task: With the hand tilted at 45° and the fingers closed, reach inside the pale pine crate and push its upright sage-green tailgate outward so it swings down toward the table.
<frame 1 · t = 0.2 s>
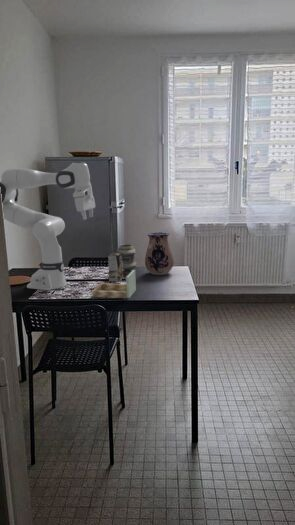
hand: (88, 218, 218), 39 cm above the table, tool pointing down, fingers open, 8 cm apart
truck bed crate: (113, 294, 213), on the table
apothecary jar: (127, 273, 254), on the table
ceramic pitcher: (159, 273, 253), on the table
tailgate: (131, 284, 209), point 6 cm above the table, hinge at 0.0°
coffee box: (116, 281, 239), on the table
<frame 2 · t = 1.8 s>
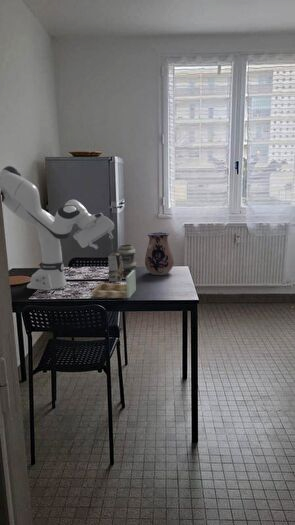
hand: (104, 243, 200), 29 cm above the table, tool tilted 50°, fingers open, 8 cm apart
nothing on the table moved.
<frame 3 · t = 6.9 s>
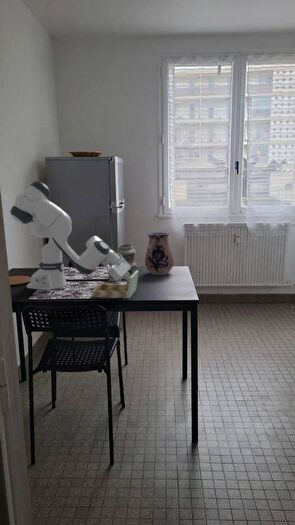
hand: (131, 280, 208), 8 cm above the table, tool tilted 45°, fingers closed, pressing on tailgate
tailgate: (132, 284, 209), point 6 cm above the table, hinge at 9.9°, touching gripper
everything else where it was.
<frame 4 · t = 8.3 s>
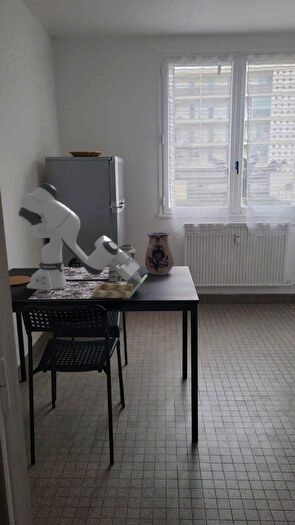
hand: (140, 280, 207), 8 cm above the table, tool tilted 45°, fingers closed, pressing on tailgate
tailgate: (137, 286, 209), point 5 cm above the table, hinge at 38.2°, touching gripper
everything else where it was.
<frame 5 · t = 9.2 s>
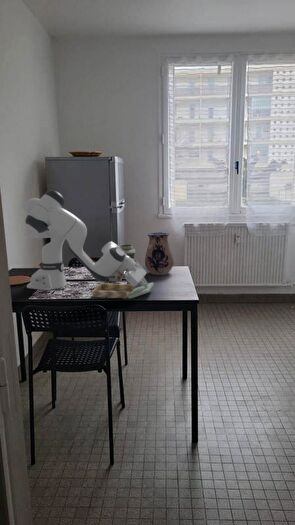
hand: (147, 286, 207), 6 cm above the table, tool tilted 45°, fingers closed, pressing on tailgate
tailgate: (140, 290, 209), point 3 cm above the table, hinge at 68.1°, touching gripper
everything else where it was.
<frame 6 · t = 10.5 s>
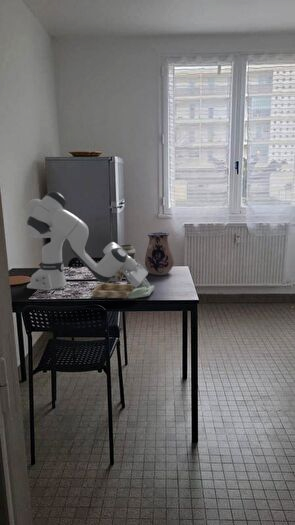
hand: (148, 286, 208), 5 cm above the table, tool tilted 45°, fingers closed
tailgate: (141, 292, 209), point 2 cm above the table, hinge at 77.2°
everything else where it was.
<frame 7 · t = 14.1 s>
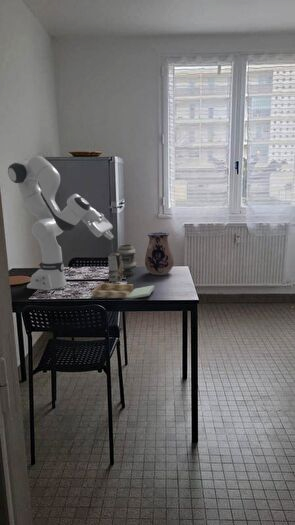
hand: (112, 238, 210), 29 cm above the table, tool tilted 45°, fingers closed
nothing on the table moved.
at the end: tailgate at +77° (first picture: +0°); the gripper is holding nothing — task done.
